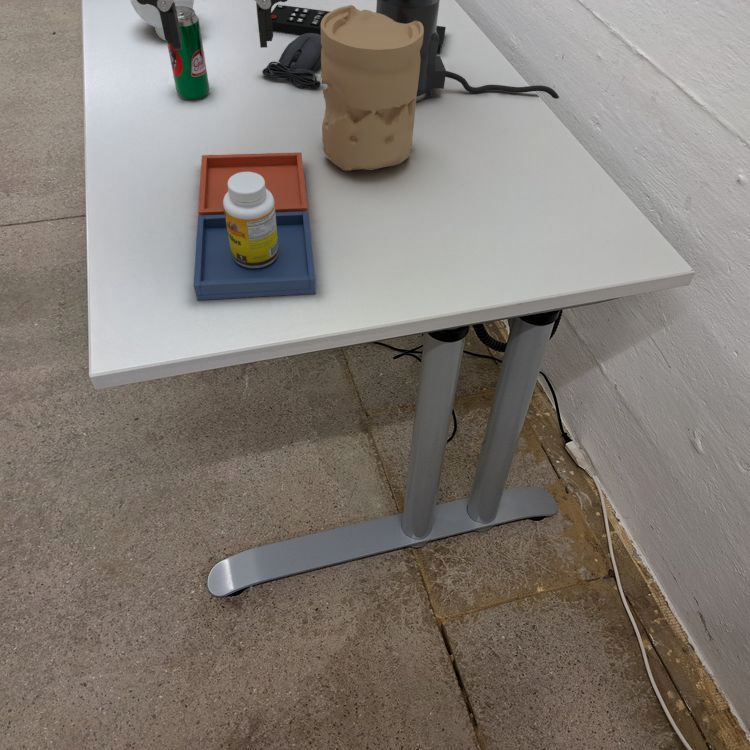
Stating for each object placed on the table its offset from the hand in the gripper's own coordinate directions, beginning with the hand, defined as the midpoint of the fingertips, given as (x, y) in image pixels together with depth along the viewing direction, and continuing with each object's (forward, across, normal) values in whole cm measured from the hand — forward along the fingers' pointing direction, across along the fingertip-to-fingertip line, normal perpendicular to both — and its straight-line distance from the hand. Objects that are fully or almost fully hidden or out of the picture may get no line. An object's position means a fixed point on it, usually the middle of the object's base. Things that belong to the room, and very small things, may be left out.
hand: (221, 45), depth 65 cm
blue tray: (+21, +1, -9) cm, 23 cm away
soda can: (+22, -7, +31) cm, 39 cm away
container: (+22, +17, +12) cm, 30 cm away
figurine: (+22, -12, +54) cm, 59 cm away
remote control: (+22, +21, +52) cm, 60 cm away
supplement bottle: (+21, +1, -9) cm, 23 cm away
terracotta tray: (+22, +1, +4) cm, 22 cm away
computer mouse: (+22, +11, +39) cm, 47 cm away
